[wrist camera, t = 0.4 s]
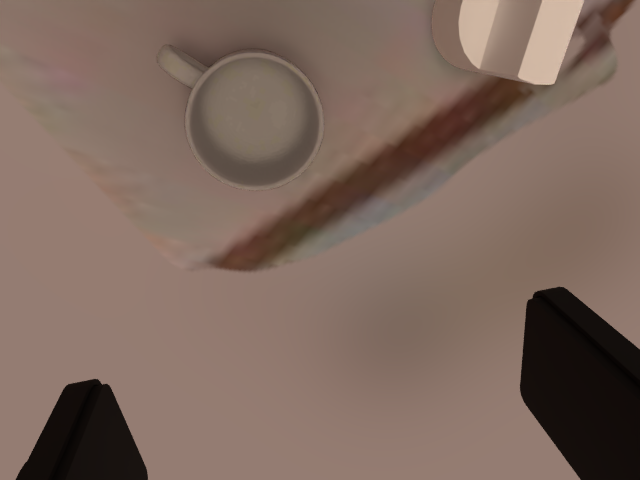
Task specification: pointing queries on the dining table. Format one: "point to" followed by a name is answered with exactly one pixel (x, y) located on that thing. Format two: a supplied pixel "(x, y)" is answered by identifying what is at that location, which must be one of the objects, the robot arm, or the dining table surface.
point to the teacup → (249, 116)
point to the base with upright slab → (506, 36)
